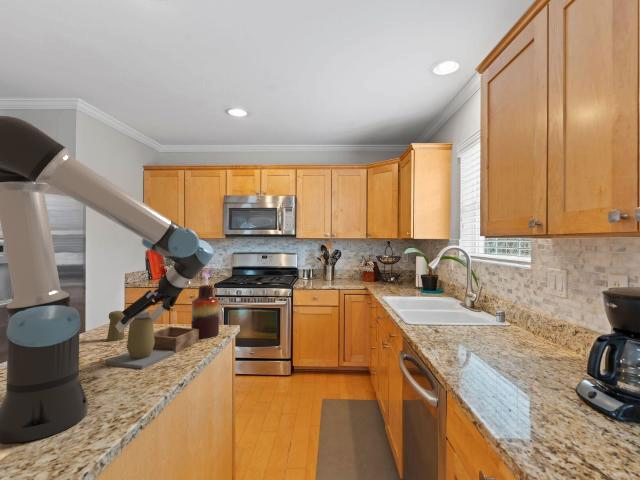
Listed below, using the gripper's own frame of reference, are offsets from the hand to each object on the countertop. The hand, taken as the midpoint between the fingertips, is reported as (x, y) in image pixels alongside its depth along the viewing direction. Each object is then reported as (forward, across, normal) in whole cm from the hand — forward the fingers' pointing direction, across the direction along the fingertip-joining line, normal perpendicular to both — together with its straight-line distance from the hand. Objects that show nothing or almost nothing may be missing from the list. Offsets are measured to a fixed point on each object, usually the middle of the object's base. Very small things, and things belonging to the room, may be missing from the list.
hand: (135, 324), depth 108 cm
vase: (+4, +31, -12) cm, 33 cm away
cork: (+26, +16, +9) cm, 32 cm away
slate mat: (+6, 0, -10) cm, 11 cm away
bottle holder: (+6, +15, -10) cm, 19 cm away
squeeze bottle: (+6, 0, -9) cm, 11 cm away
